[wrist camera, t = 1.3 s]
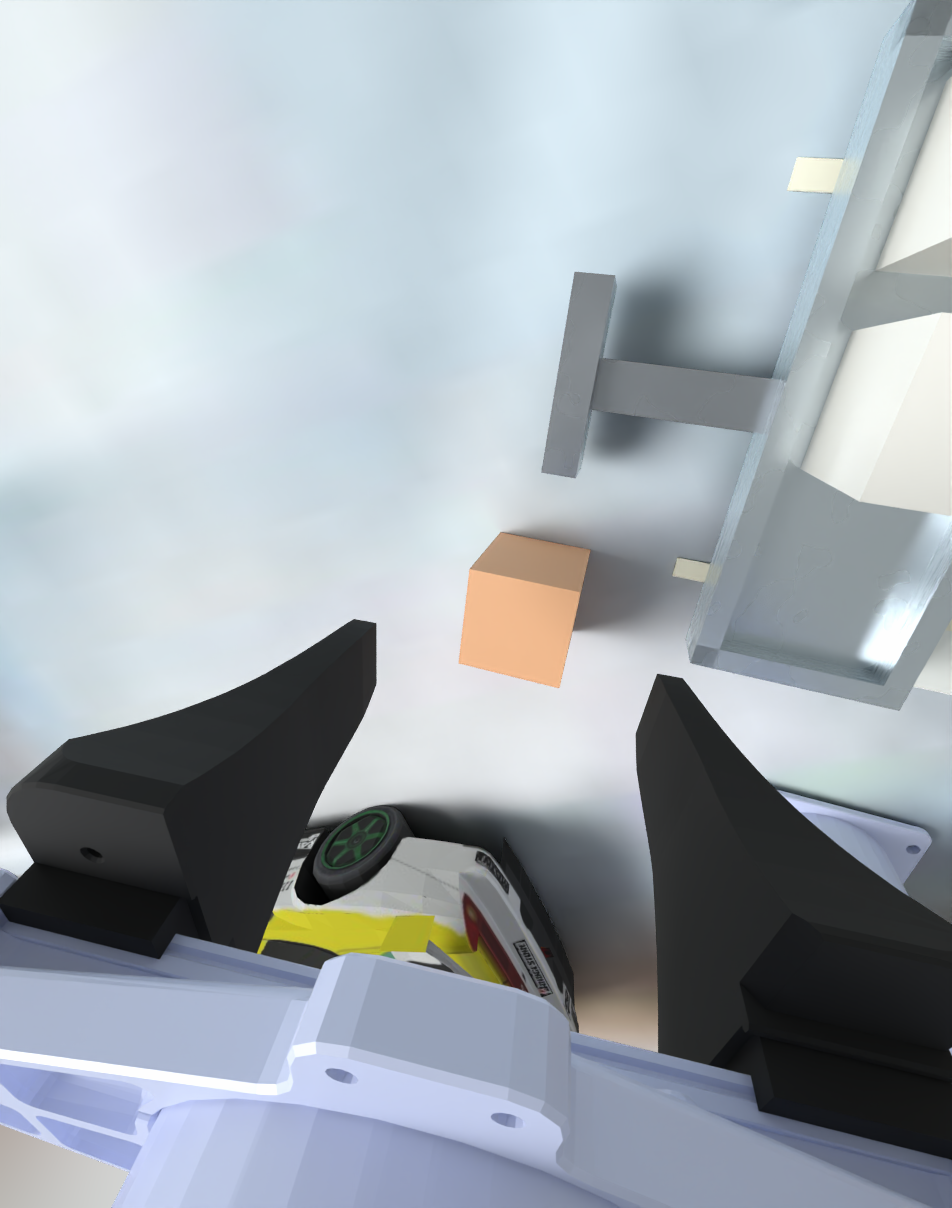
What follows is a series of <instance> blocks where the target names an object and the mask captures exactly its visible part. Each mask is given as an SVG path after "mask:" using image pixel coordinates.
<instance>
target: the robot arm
mask: <svg viewBox="0 0 952 1208" xmlns="http://www.w3.org/2000/svg"><path fill="white" fill-rule="evenodd" d="M375 686H376V623H372V622H367V621H361V620H356V619H353V620H352V621H350V622H348V623H347V624H345V625H344V626H342V627H341V628H339V629H338V630H336V631H335V632H333V633H332V634H330V635H329V636H327V637H326V638H324V639H323V640H321V641H319V642H318V643H316V644H315V645H313V646H312V647H310V648H308V649H307V650H305V651H304V652H302V653H301V654H299V655H297V656H296V657H294V658H292V659H290V660H289V661H287V662H285V663H283V664H282V665H280V666H278V667H276V668H274V669H273V670H271V671H269V672H267V673H266V674H264V675H262V676H260V677H258V678H256V679H254V680H252V681H250V682H248V683H246V684H244V685H241V686H239V687H237V688H235V689H233V690H230V691H228V692H226V693H224V694H221V695H219V696H216V697H214V698H211V699H208V700H206V701H203V702H200V703H198V704H195V705H193V706H190V707H187V708H185V709H182V710H179V711H176V712H173V713H170V714H167V715H164V716H160V717H157V718H154V719H150V720H147V721H143V722H140V723H137V724H133V725H129V726H125V727H121V728H117V729H113V730H108V731H104V732H100V733H95V734H91V735H87V736H83V737H78V738H73V739H69V740H67V741H66V742H65V743H64V744H63V745H61V746H60V747H59V748H58V749H57V750H56V751H54V752H53V753H52V754H51V755H50V756H49V757H47V758H46V759H45V760H44V761H43V762H42V763H41V764H39V765H38V766H37V767H36V768H35V769H34V770H32V771H31V772H30V773H29V774H28V775H27V776H25V777H24V778H23V779H22V780H21V781H20V782H19V783H17V784H16V785H15V786H14V787H13V788H12V789H11V790H10V792H9V794H8V795H7V813H8V816H9V818H10V821H11V823H12V825H13V827H14V828H15V830H16V832H17V833H18V835H19V837H20V839H21V840H22V842H23V844H24V845H25V847H26V849H27V851H28V852H29V854H30V856H31V858H32V859H33V861H34V863H33V864H32V865H31V867H30V868H29V869H28V870H27V871H26V872H25V873H24V874H23V875H22V876H21V877H20V878H18V877H17V876H16V875H14V874H13V873H11V872H9V871H8V870H5V869H2V868H0V1125H3V1126H6V1127H8V1128H11V1129H14V1130H16V1131H19V1132H22V1133H25V1134H27V1135H30V1136H33V1137H35V1138H38V1139H41V1140H44V1141H46V1142H49V1143H52V1144H54V1145H57V1146H60V1147H62V1148H65V1149H68V1150H70V1151H73V1152H76V1153H78V1154H81V1155H84V1156H87V1157H89V1158H92V1159H95V1160H97V1161H100V1162H103V1163H105V1164H108V1165H111V1166H113V1167H116V1168H119V1169H122V1170H124V1171H127V1172H129V1174H128V1176H127V1178H126V1180H125V1182H124V1184H123V1185H122V1187H121V1190H120V1191H119V1193H118V1195H117V1197H116V1199H115V1201H114V1203H113V1205H112V1207H111V1208H952V924H950V923H949V922H947V921H946V920H944V919H943V918H941V917H939V916H938V915H936V914H935V913H933V912H932V911H930V910H929V909H927V908H926V907H924V906H923V905H921V904H920V903H918V902H917V901H915V900H914V899H912V898H911V897H909V896H908V894H907V892H906V890H905V888H904V886H903V884H904V882H905V881H906V879H907V878H908V877H909V875H910V874H911V872H912V871H913V869H914V868H915V867H916V865H917V864H918V862H919V861H920V859H921V858H922V857H923V855H924V854H925V852H926V851H927V849H928V848H929V846H930V845H931V843H932V839H931V837H930V835H929V834H928V832H927V831H926V830H925V829H922V828H920V827H916V826H912V825H908V824H905V823H901V822H897V821H893V820H890V819H886V818H882V817H878V816H875V815H871V814H867V813H863V812H859V811H856V810H852V809H848V808H844V807H841V806H837V805H833V804H829V803H826V802H822V801H818V800H814V799H810V798H807V797H803V796H799V795H795V794H792V793H788V792H784V791H780V790H777V789H775V788H774V787H773V786H772V785H771V784H770V783H769V782H768V781H767V780H766V779H765V778H764V777H763V776H762V775H761V774H760V773H759V771H758V770H757V769H756V768H755V767H754V766H753V765H752V764H751V763H750V762H749V760H748V759H747V758H746V757H745V756H744V755H743V754H742V753H741V751H740V750H739V749H738V748H737V747H736V746H735V744H734V743H733V742H732V741H731V740H730V739H729V737H728V736H727V735H726V734H725V732H724V731H723V730H722V729H721V727H720V726H719V725H718V724H717V722H716V721H715V720H714V719H713V717H712V716H711V715H710V713H709V712H708V711H707V710H706V708H705V707H704V706H703V704H702V703H701V702H700V700H699V699H698V698H697V696H696V695H695V694H694V692H693V691H692V690H691V688H690V687H689V686H688V685H687V683H686V682H685V681H684V680H683V678H678V677H672V676H667V675H661V674H657V676H656V679H655V681H654V684H653V687H652V690H651V693H650V695H649V698H648V701H647V704H646V707H645V709H644V712H643V715H642V718H641V721H640V723H639V726H638V729H637V732H636V763H637V775H638V782H639V788H640V795H641V801H642V807H643V813H644V819H645V825H646V831H647V837H648V843H649V849H650V855H651V863H652V871H653V884H654V901H655V919H656V943H657V975H658V1053H657V1052H653V1051H649V1050H645V1049H641V1048H637V1047H633V1046H629V1045H625V1044H621V1043H617V1042H612V1041H608V1040H604V1039H600V1038H596V1037H592V1036H588V1035H584V1034H580V1033H576V1032H572V1031H570V1026H569V1021H568V1020H567V1019H566V1018H565V1016H564V1015H563V1014H562V1013H561V1012H560V1011H558V1010H557V1009H556V1008H555V1007H554V1006H553V1005H551V1004H550V1003H549V1002H548V1001H547V1000H545V999H543V998H540V997H538V996H535V995H533V994H530V993H527V992H525V991H522V990H519V989H517V988H513V987H508V986H504V985H500V984H496V983H492V982H488V981H484V980H479V979H475V978H471V977H467V976H463V975H459V974H455V973H450V972H446V971H442V970H438V969H434V968H430V967H426V966H422V965H417V964H413V963H409V962H405V961H401V960H397V959H393V958H388V957H384V956H380V955H372V954H363V953H353V952H351V953H347V954H344V955H341V956H337V957H334V958H331V959H329V960H327V961H325V962H324V964H323V966H322V969H317V968H313V967H309V966H305V965H301V964H297V963H293V962H289V961H285V960H281V959H277V958H272V957H268V956H264V955H260V954H257V952H258V950H259V947H260V944H261V941H262V938H263V936H264V933H265V930H266V927H267V925H268V922H269V919H270V916H271V914H272V911H273V909H274V906H275V903H276V901H277V898H278V896H279V893H280V890H281V888H282V885H283V883H284V880H285V877H286V875H287V872H288V870H289V867H290V865H291V862H292V860H293V857H294V855H295V853H296V850H297V848H298V845H299V843H300V840H301V838H302V836H303V833H304V831H305V829H306V826H307V824H308V822H309V819H310V817H311V815H312V812H313V810H314V808H315V805H316V803H317V801H318V799H319V797H320V795H321V793H322V791H323V789H324V787H325V785H326V783H327V782H328V780H329V778H330V776H331V774H332V773H333V771H334V769H335V767H336V766H337V764H338V762H339V760H340V758H341V757H342V755H343V753H344V751H345V750H346V748H347V746H348V744H349V742H350V741H351V739H352V737H353V735H354V733H355V732H356V730H357V728H358V726H359V724H360V722H361V721H362V719H363V717H364V714H365V712H366V710H367V707H368V705H369V702H370V700H371V697H372V694H373V692H374V689H375ZM911 845H914V846H913V847H908V846H911Z"/></svg>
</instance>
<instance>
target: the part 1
mask: <svg viewBox="0 0 952 1208" xmlns="http://www.w3.org/2000/svg"><path fill="white" fill-rule="evenodd" d="M875 271H884V272H896V273H908V274H921V275H933V276H946V277H952V76H951V77H950V78H949V79H948V80H947V81H946V84H945V86H944V89H943V92H942V94H941V97H940V100H939V102H938V105H937V108H936V110H935V113H934V116H933V118H932V121H931V124H930V126H929V129H928V131H927V134H926V137H925V139H924V142H923V145H922V147H921V150H920V153H919V155H918V158H917V161H916V163H915V166H914V169H913V171H912V174H911V177H910V179H909V182H908V184H907V187H906V190H905V192H904V195H903V198H902V200H901V203H900V206H899V208H898V211H897V214H896V216H895V219H894V222H893V224H892V227H891V230H890V232H889V235H888V237H887V240H886V243H885V245H884V248H883V251H882V253H881V256H880V259H879V261H878V264H877V267H876V269H875Z"/></svg>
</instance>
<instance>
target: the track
mask: <svg viewBox="0 0 952 1208" xmlns="http://www.w3.org/2000/svg"><path fill="white" fill-rule="evenodd" d="M843 160H844V159H827V158H803V157H797V159H796V162H795V166H794V169H793V172H792V176H791V179H790V183H789V186H788V189H787V191H797V192H815V193H833V190H834V187H835V184H836V181H837V178H838V175H839V172H840V169H841V166H842V163H843ZM709 567H710V564H709V563H704V562H699V561H694V560H688V559H683V558H678V557H677V561H676V564H675V568H674V571H673V574H672V576H674V577H679V578H684V579H689V580H694V581H700V582H705V579H706V576H707V573H708V570H709ZM913 687H916V688H921V689H926V690H930V691H935V692H939V693H944V694H948V695H952V619H951V621H950V623H949V624H948V626H947V628H946V630H945V631H944V633H943V635H942V637H941V638H940V640H939V642H938V644H937V645H936V647H935V649H934V651H933V652H932V654H931V656H930V658H929V659H928V661H927V663H926V665H925V666H924V668H923V670H922V672H921V673H920V675H919V677H918V679H917V680H916V682H915V684H914V686H913Z"/></svg>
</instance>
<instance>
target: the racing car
mask: <svg viewBox="0 0 952 1208" xmlns="http://www.w3.org/2000/svg"><path fill="white" fill-rule="evenodd" d="M351 952H353V953H363V954H372V955H380V956H384V957H388V958H393V959H397V960H401V961H405V962H409V963H413V964H417V965H422V966H426V967H430V968H434V969H438V970H442V971H446V972H450V973H455V974H459V975H463V976H467V977H471V978H475V979H479V980H484V981H488V982H492V983H496V984H500V985H504V986H508V987H513V988H517V989H519V990H522V991H525V992H527V993H530V994H533V995H535V996H538V997H540V998H543V999H545V1000H547V1001H548V1002H549V1003H550V1004H551V1005H553V1006H554V1007H555V1008H556V1009H557V1010H558V1011H560V1012H561V1013H562V1014H563V1015H564V1016H565V1018H566V1019H567V1020H568V1021H569V1026H570V1031H572V1032H576V1033H579V1025H578V1022H577V1016H576V1012H575V1008H574V977H573V971H572V969H571V966H570V964H569V961H568V959H567V956H566V953H565V951H564V949H563V946H562V944H561V942H560V940H559V938H558V936H557V934H556V932H555V929H554V927H553V925H552V923H551V921H550V919H549V917H548V915H547V913H546V910H545V908H544V906H543V905H542V903H541V901H540V899H539V897H538V895H537V893H536V892H535V890H534V888H533V886H532V884H531V882H530V881H529V879H528V877H527V875H526V873H525V871H524V869H523V868H522V866H521V864H520V862H519V861H518V859H517V857H516V856H515V854H514V853H513V851H512V849H511V848H510V846H509V844H508V843H507V841H506V840H505V838H504V839H503V847H502V856H501V863H500V862H497V861H496V859H495V858H494V857H493V855H492V854H491V853H490V852H488V851H487V850H485V849H483V848H481V847H479V846H472V845H464V844H457V843H450V842H443V841H436V840H429V839H420V838H415V836H414V835H413V833H412V831H411V829H410V828H409V826H408V824H407V822H406V821H405V819H404V817H403V815H402V814H401V812H399V811H398V810H397V809H396V808H395V807H387V806H377V807H372V808H367V809H365V810H363V811H361V812H358V813H356V814H354V815H353V816H351V817H350V818H348V819H347V820H345V821H344V822H342V823H341V824H340V825H339V826H338V827H337V828H336V829H335V830H334V831H332V832H331V833H330V834H329V833H328V831H327V829H326V827H323V828H317V829H312V830H307V831H304V833H303V836H302V838H301V840H300V843H299V845H298V848H297V850H296V853H295V855H294V857H293V860H292V862H291V865H290V867H289V870H288V872H287V875H286V877H285V880H284V883H283V885H282V888H281V890H280V893H279V896H278V898H277V901H276V903H275V906H274V909H273V911H272V914H271V916H270V919H269V922H268V925H267V927H266V930H265V933H264V936H263V938H262V941H261V944H260V947H259V950H258V952H257V954H260V955H264V956H268V957H272V958H277V959H281V960H285V961H289V962H293V963H297V964H301V965H305V966H309V967H313V968H317V969H322V966H323V964H324V962H325V961H327V960H329V959H331V958H334V957H337V956H341V955H344V954H347V953H351Z"/></svg>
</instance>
